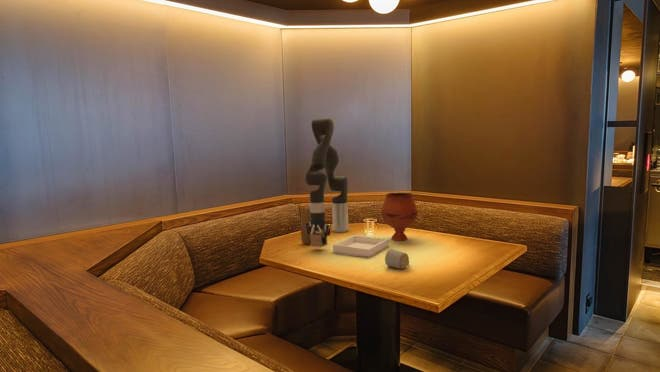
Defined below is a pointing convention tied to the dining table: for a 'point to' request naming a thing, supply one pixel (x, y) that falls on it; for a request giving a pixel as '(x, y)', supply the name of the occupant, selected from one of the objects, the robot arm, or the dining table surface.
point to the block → (304, 219)
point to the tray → (360, 246)
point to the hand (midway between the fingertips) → (318, 243)
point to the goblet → (399, 213)
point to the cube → (317, 239)
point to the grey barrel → (396, 259)
